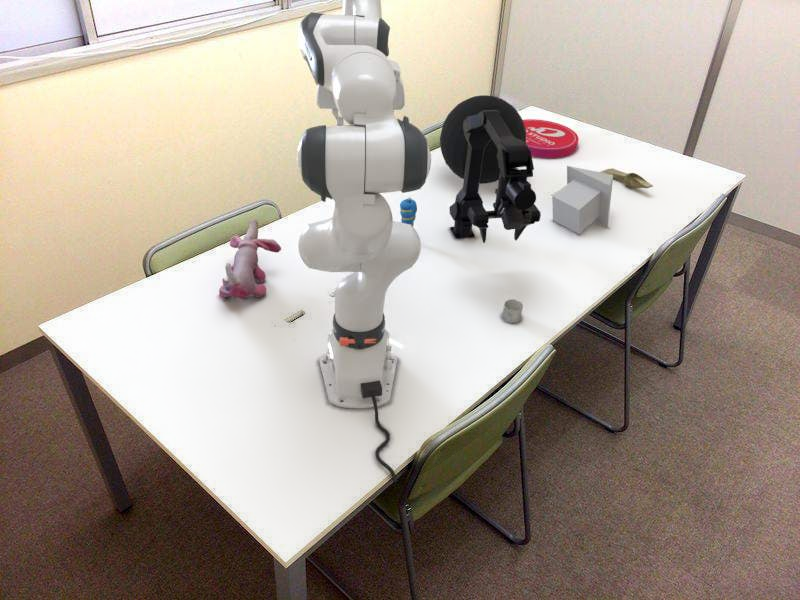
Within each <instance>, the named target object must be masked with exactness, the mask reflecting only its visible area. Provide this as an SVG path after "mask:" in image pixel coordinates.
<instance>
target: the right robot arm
mask: <svg viewBox="0 0 800 600" xmlns="http://www.w3.org/2000/svg"><path fill="white" fill-rule="evenodd" d="M463 130H464V136H465V138H466V140H467V142H468V150H467V158H466V166H465V174H464V179H463V181H462V182H463V183H462V188H461V189H460V190H459V191H458V193H457V194H456V196H455V201H454V202H453V204H451V205H450V206H449V215H450V217H451V218H452V221H454V224H453V226H450V227H449V229H450V231H451V233H452V236H453V237H454V239H456V240H458V239H471V238H472V239H473V238H475V237H476V235H475V233H474V232H473V226H474V227H476V228H478V229H479V233H480V237H481V241H482V243H483V244H485V243H486V241H487V232H488V231H487V230H488V228H489V220H491V219H501V221H502V225H503V229H504V230H506V231H512V230H514V233H513V234H514V236H513V240H514V241H518V240H519V238H520V237H521V235H522V234H523V232H524V230H525V229H527V227H528V226H530V225H534V224H535V223H539V222H540V221H541V216H542V214H541V210H540V209H539V208H538V207H537V206H536V204H535V203H536V201H537V194H536V192H535V190H533V188H532V184H531V183H530V182H529V181H528V178H533V177H534V170H535V166H534V161H533V157H532V155H531V151H530V149H529V147H528V146H527V145H526V144H525V143H524V142H523V141H522V140H520V139H517V138H515V137H514V136H513V135H512V133H511V132H510V130H509V129H508V127H507V126H506V124H505V123H504V121H503V120H502V118H501V114H500V112H499V111H497V110H485V111H482V112H480V113H479V114H476V115H473V116H468V117H467V118H466V119H465V121H464V123H463ZM491 139H492V140H493V142H494V144H495V145H496V147H497V149H498V153H497V159H498V163H499V168H500V175H499V180H498V181H497V182H498V183H497V188H495V190H494V194H495V195H496V196H495V201H494V202H493V203H492V208H493V210H486V208H485V206H484V201H483V199H482V197H481V195H480V193H479V190H480V189H479V188H480V184H479V183H480V176H481V169H482V162H483V155H484V148H485V147H486V145H487V144H488V143H489V142H490V141H491ZM519 168H522V169H519Z"/></svg>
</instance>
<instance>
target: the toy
mask: <svg viewBox="0 0 800 600" xmlns="http://www.w3.org/2000/svg"><path fill="white" fill-rule="evenodd" d="M229 241H230V242H229V247H231V248H233V249H237V251H236V252H235V255H234V256H233V257H234V258H233V265H231V264H230V263H229V262H227V263H226V264H225V266H224V267H225V274H226V276H227V280H226V279H225V278H224V277H222V285H221V286H220V287H219V290H218V291H219V293H218V295H219V297H221V298H223V299H225V300H227V299H228V298H231V297H232V298H235V299H240V300H243V301H244V300H246V299H248V298H249V297H253V298H256V297H257V298H262V297H264V296H265V295H266V293H267V287H266V285H265V284H263V283H264V281H265V280H266V273H265V271H264V270H263V269H261V267H260V266H259V256H258V250H259V249H258V248H261V249H263V250H265V251H268V252H271V253H280V252H281V251H282V247H281V245H280V244H279V243H278V242H277V240H275V239H272V238H259V221H258V220H257V219H256V218H252V219H251V220H250V221H249V224H248V228H247V230H246V233H245V234H244V237H243V239H242V238H241V237H240V236H239V235H233V236H232V237H230V240H229ZM255 281H256V282H258V283H259V284H257V285H256V282H255Z"/></svg>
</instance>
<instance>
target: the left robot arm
mask: <svg viewBox="0 0 800 600" xmlns="http://www.w3.org/2000/svg"><path fill="white" fill-rule="evenodd" d="M381 1H382V0H342V7H341V14H327V13H323V12H322V13H321V12H310V13H308V14H307V15H306V16H305V17H304V18H303V19H302V20H301V21H300V25H299V27H298V32H297V33H298V34H297V35H298V38H297V39H298V40H297V41H298V47H299V51H300V54H301V55H302V58H303V60H304V61H305V62H306V65H307V66H308V69H309V71H310V73H311V76H312V78H313V80H314V84H315V85H316V86H317V89H316V90H317V91H316V105H317V107H318V108H319V109H323V110H324V109H325V110H326V109H327V110H331V111H332V113H331V114H332V115H333V116H334V118H335V120H336V125H331V126H326V124H322V125H317V126H316V125H315V126H313V127H308V128H306V129H305V131H304V132H303V133H302V135H301V139H300V141H299V144H298V147H297V149H296V164H297V169H298V172H299V174H300V176H301V179H302V181H303V183H304V184H305V185H306V186H307V187H308V189H309V190H310V191H312V192H313V193H315V194H316V195H318V196H320V197H321V198H320V200H321V202H323V203H326V200H327V198H328V199H329V200H333V201H334V211H333V213H332V217H331V218H327V219H325V220H321V221H320V220H319V221H316V222H312V223H311V222H310V223H308V224H307V225H306V226H305V227H304V228H303V230H302V231H301V232H300V235H299V239H298V244H297V245H298V246H297V247H298V248H297V249H298V253H299V256H300V258H301V261H302V262H303V263H304V265H305V266H306V267H307V268H308V269H312V270H317V271H321V272H327V273H350V274H349V275H346V276H345V277H343V279H342V280H341V281H340V282H339V283H338V285H336V288H335V290H334V313H333V317H332V329H331V330H330V331H329V332H328V333H327V334H326V335H327V339H326V340H327V345H326V346H327V350H326V351H327V353H325V354H323V355H321V356H320V357H319V366H320V370H321V374H322V378H323V382H324V387H325V390H326V391H325V392H326V394H327V400H328V402H329V404H332V405H334V406H337V407H340V408H345V409H371V408H373V410H374V422H375V424H376V427H377V428H378V429H379V430H380V431H381V432H383V433H384V434H385V436H386V437H385V440H384V441H383V442H382V443H381V444H380V445H379V446H378V447H376V450H375V459H376V461H377V462H378V463H379V464H380V465H381V466H383V467H384V468H385V469H386V470H387V471H388V472H389V473H390V475H391V478H392V480H393V483H398V478H397V475H396V472H395V471H394V469H393V468H392V467H391V466H390V464H388V463H386V461H384V460H383V459H382V458H381V455H380V451H382V449H383V448H384V447H386V445H388V443H389V442H390V439H391V434H390V432H389V431H388V430H387V429H386V428H384V427H383V425H382V424H381V423H380V419H379V408H378V407H381V406H383V405H387V404H388V403H389V402H390V401H391V396H392V391H393V386H394V382H395V381H394V380H395V376H396V370H397V364H398V357H397V356H396V355H395V354H393V353H391V352H392V345H394V346H396V347H399V348H400V349H403V347H404V345H403V344H401V343H399V342H397V341H396V340H393V339H392V338H391V334H390V332H389V331H387V330H386V318H385V313H384V307H385V299H386V294H387V291H388V290H389V287H390V286H391V284H392V283H393V282H394V281H395V280H396V279H397V278H398V277H399V276H400V275H401V274H403V273H404V272H406V271H408V270H409V269H411V268H413V267H414V266H415V264H416V263H417V261H418V260H419V257H420V255H421V249H422V245H421V238H420V236H419V233H418V232H417V230H416V228H415V227H414V225H413V226H412V225H410V224H405V223H402V222H401V221H396V220H395V221H394V219H393V213H392V209H391V207H390V205H389V202H388V201H387V200H386V198H385V197H384V196H383V195H382V194H385V193H386V194H387V193H397V192H401V193H402V194H404V193H410V192H415V191H418V190H420V189H421V188H423V187H424V185H425V184H426V181H427V178H428V176H429V174H430V170H431V166H432V154H431V149H430V147H429V144H428V139H427V138H426V136H425V134H423V132H422V131H421V130H420V129H419V128H418V127H417V126H415V125H414V124H413V123H411V122H410V119H409V116H406V115H404V116H403V117H402V119H400V118H397V117H396V116H395V111H400V110H402V109H403V108H404V107H405V104H406V103H405V101H406V99H405V89H404V82H403V80H402V77H401V73H402V71H401V67H400V65H399V63H398V62H396V61H395V60H392V59H389V58H388V56H390V48H389V35H390V30H391V26H390V25H389V24H388V23H387V22H386V20H384V18H383V12H382V2H381ZM339 114H340V115H339ZM344 121H345V122H346V123H347V124H344ZM390 344H392V345H390Z"/></svg>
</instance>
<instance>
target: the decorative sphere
mask: <svg viewBox="0 0 800 600" xmlns="http://www.w3.org/2000/svg"><path fill="white" fill-rule="evenodd" d="M485 110H497V111H499V112H500V114H501V118H502V120H503V121H504V123H505V124H506V126H507V127H508V129H509V130H510V132H511V133H512V135H513V136H514V137H515V138H517V139H520V140H522V141H523V142H524V143H525V144H526V130H525V126H524V123H523V120H524V119H523V118H522V116H521V114H520V113H519V112H518V111H517V109H516V108H515V107H514V106H513V105H512V104H511V103H509V102H507V101H506V100H505V99H503V98H501V97H498V96H494V95H486V94H485V95H482V94H481V95H476V96H472V97H469V98H467V99H465V100H462V101H461V102H459V103H458V104H457V105H456V106H454V107H453V109H452V110H451V111H449V113H447V116H446V118H445V120H444V122H443V123H442V127H441V132H440V137H439V145H440V152H441V155H442V157H443V160H444V163H445V165H447V167H448V168H449V169H450V170H451V171H452V172H453V174H454V175H456V176H457V177H458V178H460V179H463V180H464V174H465V166H466V158H467V150H468V142H467V140H466V138H465V136H464V130H463V123H464V121H465V119H466V118H467V117H468V116H473V115H476V114H479V113H480V112H482V111H485ZM497 153H498V149H497V147H496V145H495V144H494V142H493V140H492V139H491V141H490V142H489V143H488V144H487V145H486V147H485V148H484V155H483V162H482V169H481V176H480V183H479V185H486V184H491V183H496V182H499V175H500V168H499V163H498V159H497Z"/></svg>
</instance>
